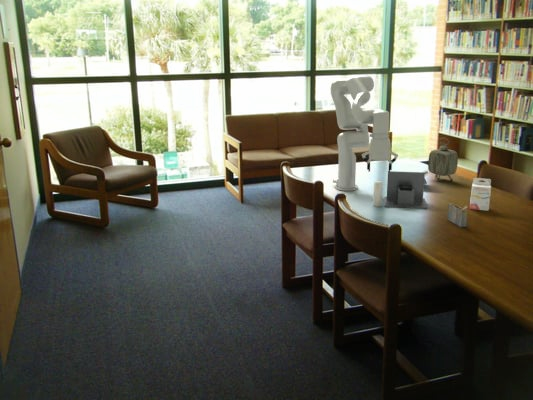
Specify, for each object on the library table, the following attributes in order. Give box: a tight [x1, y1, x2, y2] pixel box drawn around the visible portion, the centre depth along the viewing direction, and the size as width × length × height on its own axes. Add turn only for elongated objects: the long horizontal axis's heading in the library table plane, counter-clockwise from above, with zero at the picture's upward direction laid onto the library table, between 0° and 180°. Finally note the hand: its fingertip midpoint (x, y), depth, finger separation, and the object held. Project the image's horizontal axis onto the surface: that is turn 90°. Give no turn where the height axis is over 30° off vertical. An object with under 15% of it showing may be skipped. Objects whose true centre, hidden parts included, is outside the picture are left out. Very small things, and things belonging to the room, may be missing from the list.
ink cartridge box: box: [469, 177, 492, 212], centre depth 258 cm, size 9×5×15 cm, turn 71°
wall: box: [423, 170, 432, 186], centre depth 301 cm, size 16×9×15 cm
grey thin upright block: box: [446, 203, 470, 228], centre depth 240 cm, size 11×3×10 cm, turn 13°
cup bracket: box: [383, 170, 428, 210], centre depth 268 cm, size 15×20×15 cm
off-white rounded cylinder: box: [372, 180, 383, 208], centre depth 266 cm, size 4×4×12 cm
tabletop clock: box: [427, 137, 459, 182], centre depth 310 cm, size 14×9×25 cm, turn 34°
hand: (379, 171), depth 262 cm, fingers open, 9 cm apart
